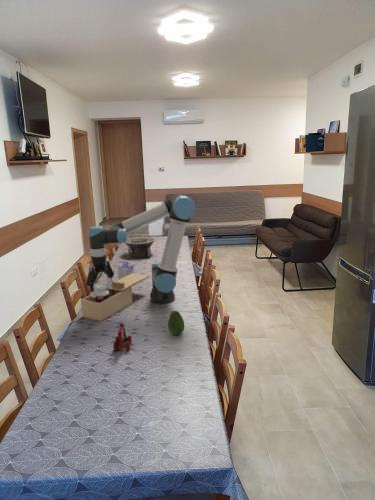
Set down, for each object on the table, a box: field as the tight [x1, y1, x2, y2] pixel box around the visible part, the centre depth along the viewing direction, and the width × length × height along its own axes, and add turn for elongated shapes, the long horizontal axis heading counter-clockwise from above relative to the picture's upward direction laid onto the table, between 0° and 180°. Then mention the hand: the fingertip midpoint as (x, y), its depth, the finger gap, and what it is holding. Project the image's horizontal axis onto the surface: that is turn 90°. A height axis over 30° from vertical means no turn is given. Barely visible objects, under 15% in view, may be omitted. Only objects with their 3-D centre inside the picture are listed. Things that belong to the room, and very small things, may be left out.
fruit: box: [167, 310, 185, 336], centre depth 175 cm, size 8×8×12 cm
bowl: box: [124, 236, 156, 259], centre depth 320 cm, size 27×26×15 cm
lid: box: [105, 273, 150, 291], centre depth 221 cm, size 13×28×4 cm, turn 153°
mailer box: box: [80, 286, 133, 322], centre depth 206 cm, size 13×28×10 cm, turn 153°
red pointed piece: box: [113, 322, 133, 352], centre depth 165 cm, size 7×12×10 cm, turn 2°
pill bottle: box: [94, 284, 109, 303], centre depth 202 cm, size 8×8×14 cm
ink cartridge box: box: [117, 261, 135, 280], centre depth 250 cm, size 10×6×14 cm, turn 85°
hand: (102, 292), depth 200 cm, fingers open, 13 cm apart
